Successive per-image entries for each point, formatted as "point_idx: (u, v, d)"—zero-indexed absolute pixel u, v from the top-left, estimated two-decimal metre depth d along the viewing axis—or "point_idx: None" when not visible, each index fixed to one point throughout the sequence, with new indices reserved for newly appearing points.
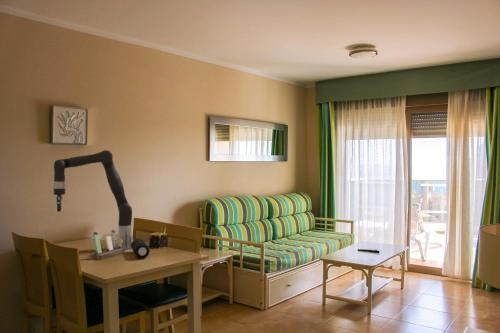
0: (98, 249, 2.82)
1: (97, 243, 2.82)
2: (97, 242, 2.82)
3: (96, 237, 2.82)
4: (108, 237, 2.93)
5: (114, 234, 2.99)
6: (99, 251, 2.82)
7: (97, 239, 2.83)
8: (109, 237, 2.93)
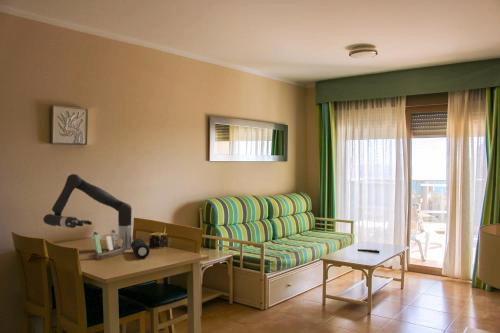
0: (98, 249, 2.82)
1: (97, 243, 2.82)
2: (97, 242, 2.82)
3: (96, 237, 2.82)
4: (108, 237, 2.93)
5: (114, 234, 2.99)
6: (99, 251, 2.82)
7: (97, 239, 2.83)
8: (109, 237, 2.93)
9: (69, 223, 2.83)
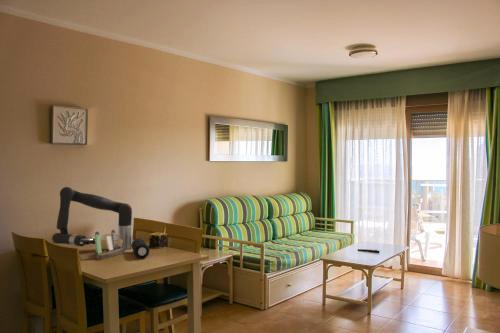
0: (98, 249, 2.81)
1: (98, 243, 2.82)
2: (98, 242, 2.82)
3: (97, 237, 2.82)
4: (108, 237, 2.93)
5: (114, 234, 2.99)
6: (99, 251, 2.82)
7: (98, 239, 2.82)
8: (109, 237, 2.93)
9: (82, 242, 2.81)
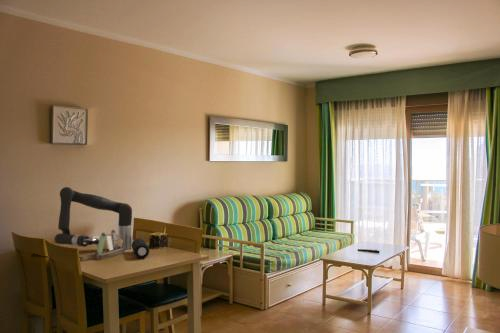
0: (100, 250, 2.81)
1: (101, 244, 2.81)
2: (101, 243, 2.81)
3: (102, 238, 2.80)
4: (108, 237, 2.93)
5: (114, 234, 2.99)
6: (100, 252, 2.82)
7: (103, 240, 2.81)
8: (109, 237, 2.93)
9: (85, 242, 2.80)
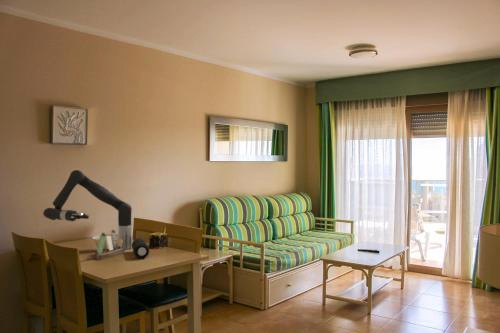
0: (100, 250, 2.81)
1: (101, 244, 2.81)
2: (101, 243, 2.81)
3: (102, 238, 2.80)
4: (108, 237, 2.93)
5: (114, 234, 2.99)
6: (100, 252, 2.82)
7: (103, 240, 2.81)
8: (109, 237, 2.93)
9: (73, 216, 2.85)
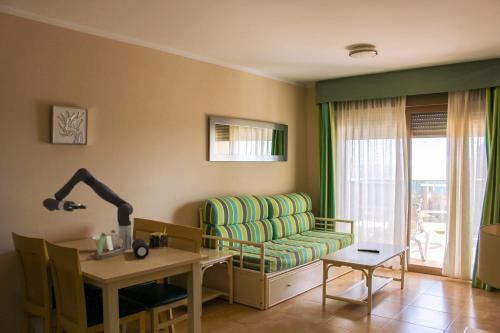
0: (100, 250, 2.81)
1: (101, 244, 2.81)
2: (101, 243, 2.81)
3: (102, 238, 2.80)
4: (108, 237, 2.93)
5: (114, 234, 2.99)
6: (100, 252, 2.82)
7: (103, 240, 2.81)
8: (109, 237, 2.93)
9: (71, 206, 2.95)
